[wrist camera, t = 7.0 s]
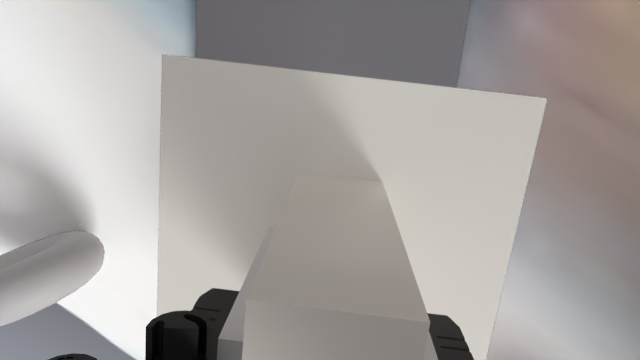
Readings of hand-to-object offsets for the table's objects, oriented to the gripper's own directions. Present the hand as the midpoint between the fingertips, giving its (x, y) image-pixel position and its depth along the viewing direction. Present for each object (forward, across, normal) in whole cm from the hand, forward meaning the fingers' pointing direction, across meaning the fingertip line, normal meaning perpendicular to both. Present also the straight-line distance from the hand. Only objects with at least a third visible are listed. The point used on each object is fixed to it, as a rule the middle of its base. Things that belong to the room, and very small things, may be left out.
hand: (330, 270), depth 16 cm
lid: (+2, 0, 0) cm, 2 cm away
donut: (+18, +20, +9) cm, 29 cm away
